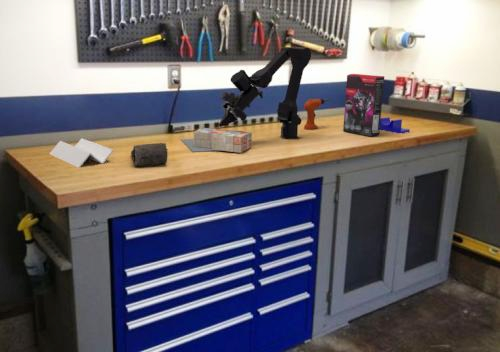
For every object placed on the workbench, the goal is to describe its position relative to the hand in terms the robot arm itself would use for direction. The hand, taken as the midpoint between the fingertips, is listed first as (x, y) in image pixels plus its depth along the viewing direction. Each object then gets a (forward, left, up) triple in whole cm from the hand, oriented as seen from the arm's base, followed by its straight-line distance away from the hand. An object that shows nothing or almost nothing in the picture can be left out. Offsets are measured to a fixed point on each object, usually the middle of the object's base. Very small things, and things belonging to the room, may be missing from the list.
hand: (219, 126), depth 210 cm
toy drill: (-57, -29, -8) cm, 65 cm away
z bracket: (+54, +12, -8) cm, 56 cm away
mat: (+7, 0, -8) cm, 10 cm away
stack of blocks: (-3, +2, -4) cm, 6 cm away
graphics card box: (-71, -10, -8) cm, 73 cm away
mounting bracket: (-91, -16, -8) cm, 92 cm away
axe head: (+30, +19, -8) cm, 36 cm away
